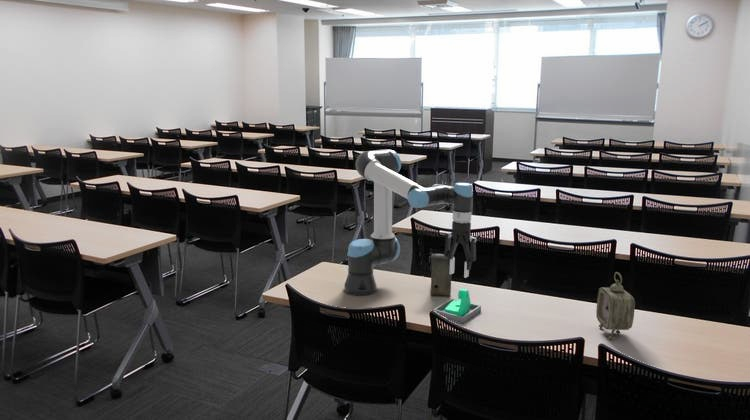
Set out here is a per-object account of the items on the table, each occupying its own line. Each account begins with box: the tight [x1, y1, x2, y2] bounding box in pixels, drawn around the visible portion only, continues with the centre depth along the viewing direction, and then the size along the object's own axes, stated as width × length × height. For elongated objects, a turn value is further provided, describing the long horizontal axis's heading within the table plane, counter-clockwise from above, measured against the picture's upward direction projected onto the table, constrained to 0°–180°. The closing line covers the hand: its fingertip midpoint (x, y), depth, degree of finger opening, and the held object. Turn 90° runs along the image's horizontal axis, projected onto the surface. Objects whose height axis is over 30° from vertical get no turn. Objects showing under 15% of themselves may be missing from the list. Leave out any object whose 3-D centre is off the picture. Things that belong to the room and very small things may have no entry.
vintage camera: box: [430, 252, 452, 297], centre depth 262 cm, size 10×15×20 cm, turn 174°
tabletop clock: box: [595, 271, 636, 340], centre depth 217 cm, size 14×9×25 cm, turn 178°
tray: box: [432, 298, 482, 324], centre depth 238 cm, size 14×16×2 cm
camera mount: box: [445, 288, 472, 316], centre depth 237 cm, size 12×8×10 cm, turn 154°
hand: (459, 275), depth 234 cm, fingers open, 6 cm apart
